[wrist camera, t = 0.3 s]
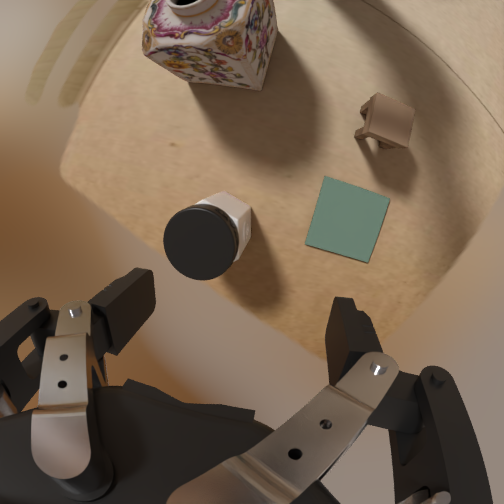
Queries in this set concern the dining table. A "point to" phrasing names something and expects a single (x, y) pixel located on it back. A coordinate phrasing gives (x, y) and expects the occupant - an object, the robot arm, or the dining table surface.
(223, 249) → the jar
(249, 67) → the decorative jar
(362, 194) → the mat
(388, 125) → the pronged tan cube
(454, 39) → the dining table surface
